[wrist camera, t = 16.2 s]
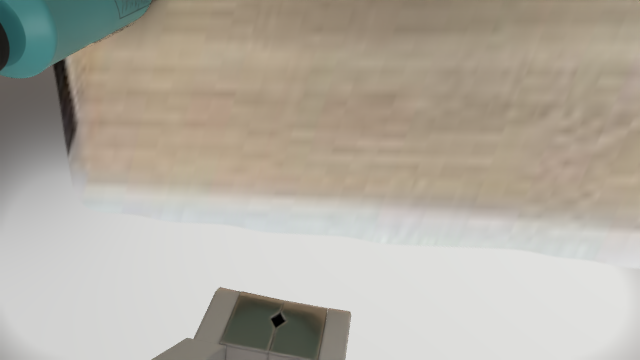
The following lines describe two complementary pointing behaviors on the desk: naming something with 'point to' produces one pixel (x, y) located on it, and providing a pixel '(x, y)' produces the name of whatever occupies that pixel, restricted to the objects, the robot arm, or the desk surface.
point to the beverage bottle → (57, 30)
